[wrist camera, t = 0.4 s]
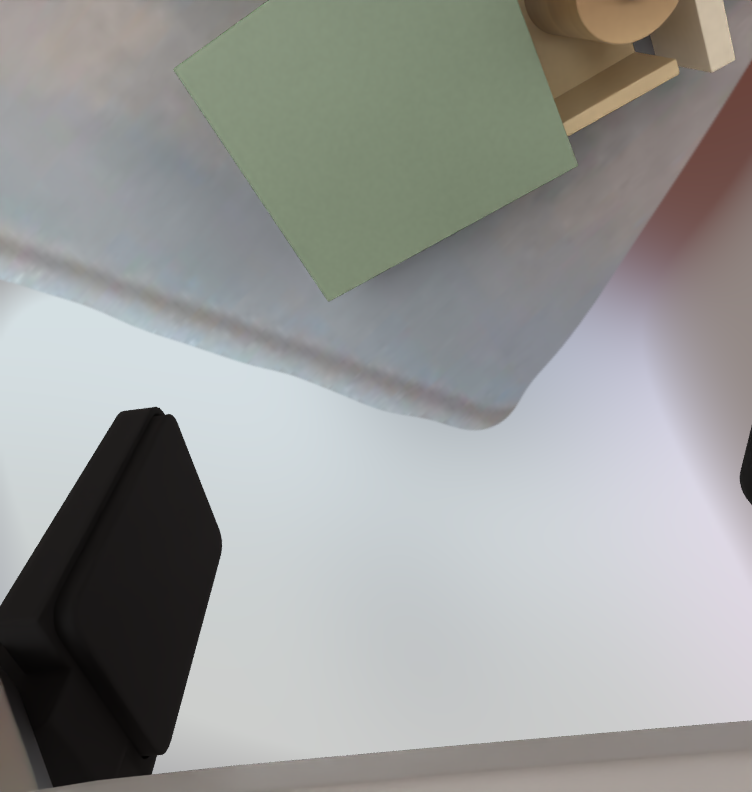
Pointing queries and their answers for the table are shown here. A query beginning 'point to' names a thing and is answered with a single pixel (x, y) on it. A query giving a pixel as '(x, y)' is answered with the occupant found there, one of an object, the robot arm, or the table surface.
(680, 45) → the drawer
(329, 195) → the cabinet
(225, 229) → the table surface
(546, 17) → the pepper mill
